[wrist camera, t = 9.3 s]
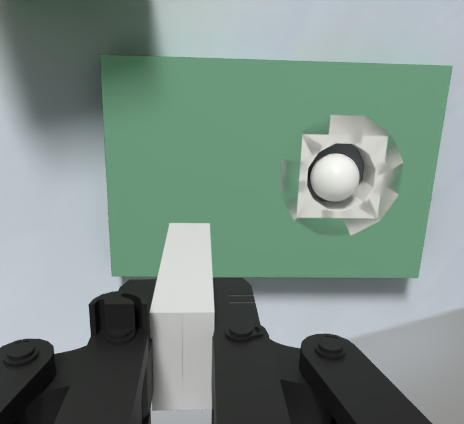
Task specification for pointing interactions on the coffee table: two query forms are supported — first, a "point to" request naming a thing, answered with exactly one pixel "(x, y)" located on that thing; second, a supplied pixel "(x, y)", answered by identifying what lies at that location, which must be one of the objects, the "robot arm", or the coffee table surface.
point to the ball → (334, 177)
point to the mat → (270, 162)
